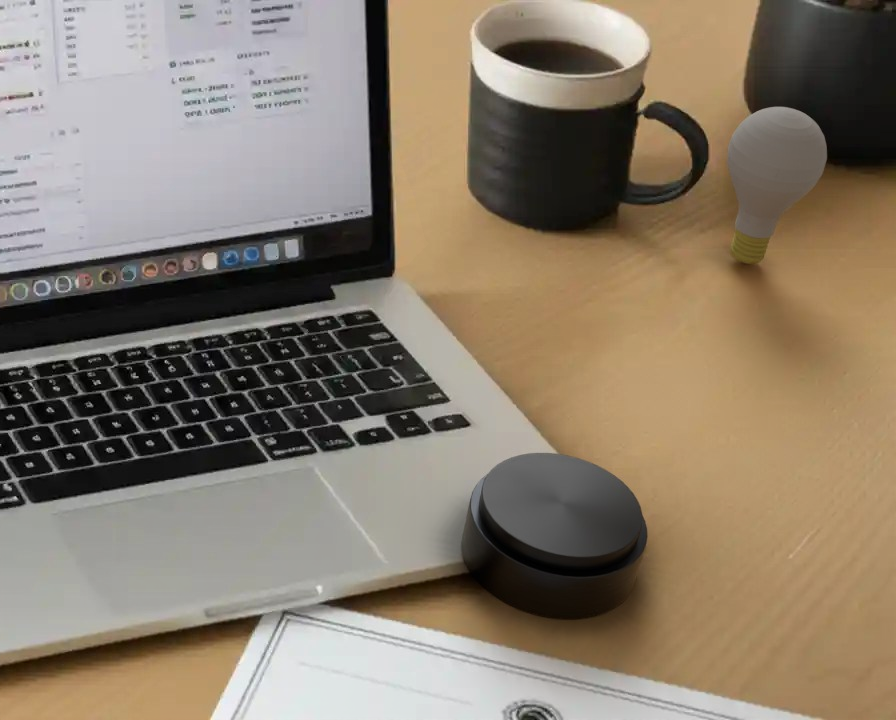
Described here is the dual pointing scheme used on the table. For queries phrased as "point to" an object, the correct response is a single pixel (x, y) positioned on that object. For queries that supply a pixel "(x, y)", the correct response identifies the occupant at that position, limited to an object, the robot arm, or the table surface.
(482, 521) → the black round lamp base
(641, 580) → the table surface
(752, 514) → the table surface
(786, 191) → the light bulb
